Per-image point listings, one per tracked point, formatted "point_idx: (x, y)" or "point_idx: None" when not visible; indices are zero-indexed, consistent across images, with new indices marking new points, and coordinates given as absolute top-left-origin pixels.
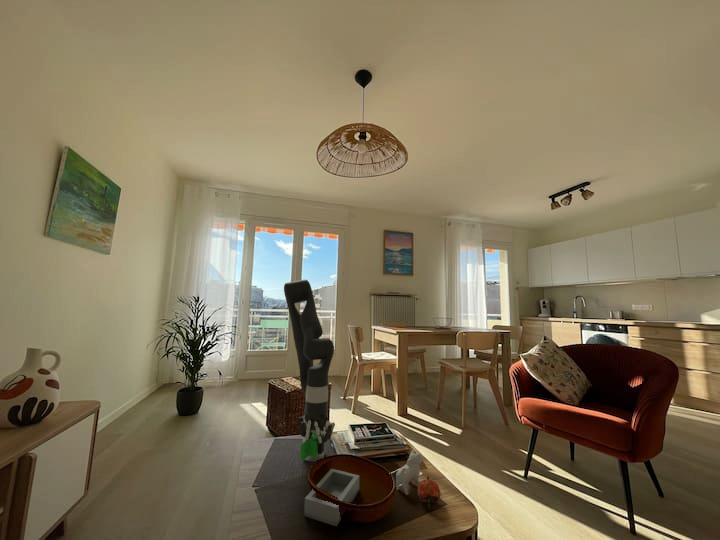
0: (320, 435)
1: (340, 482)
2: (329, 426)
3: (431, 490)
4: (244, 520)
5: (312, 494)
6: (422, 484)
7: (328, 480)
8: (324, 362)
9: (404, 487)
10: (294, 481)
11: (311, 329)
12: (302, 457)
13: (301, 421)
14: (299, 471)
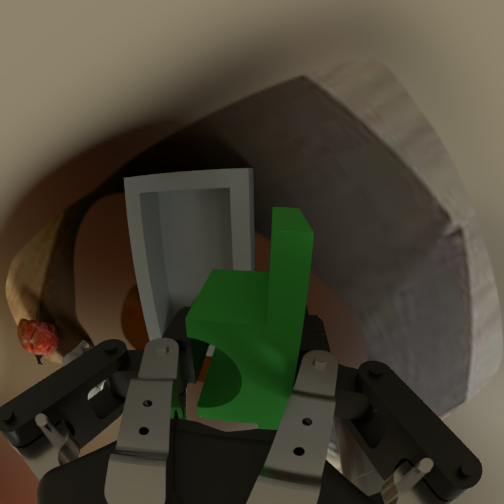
0: (133, 378)
1: None
2: (2, 417)
3: (19, 325)
4: (398, 95)
5: (233, 200)
6: (31, 338)
7: None
8: None
9: (79, 348)
10: (368, 297)
11: None
12: (282, 209)
13: (432, 473)
14: (374, 341)
